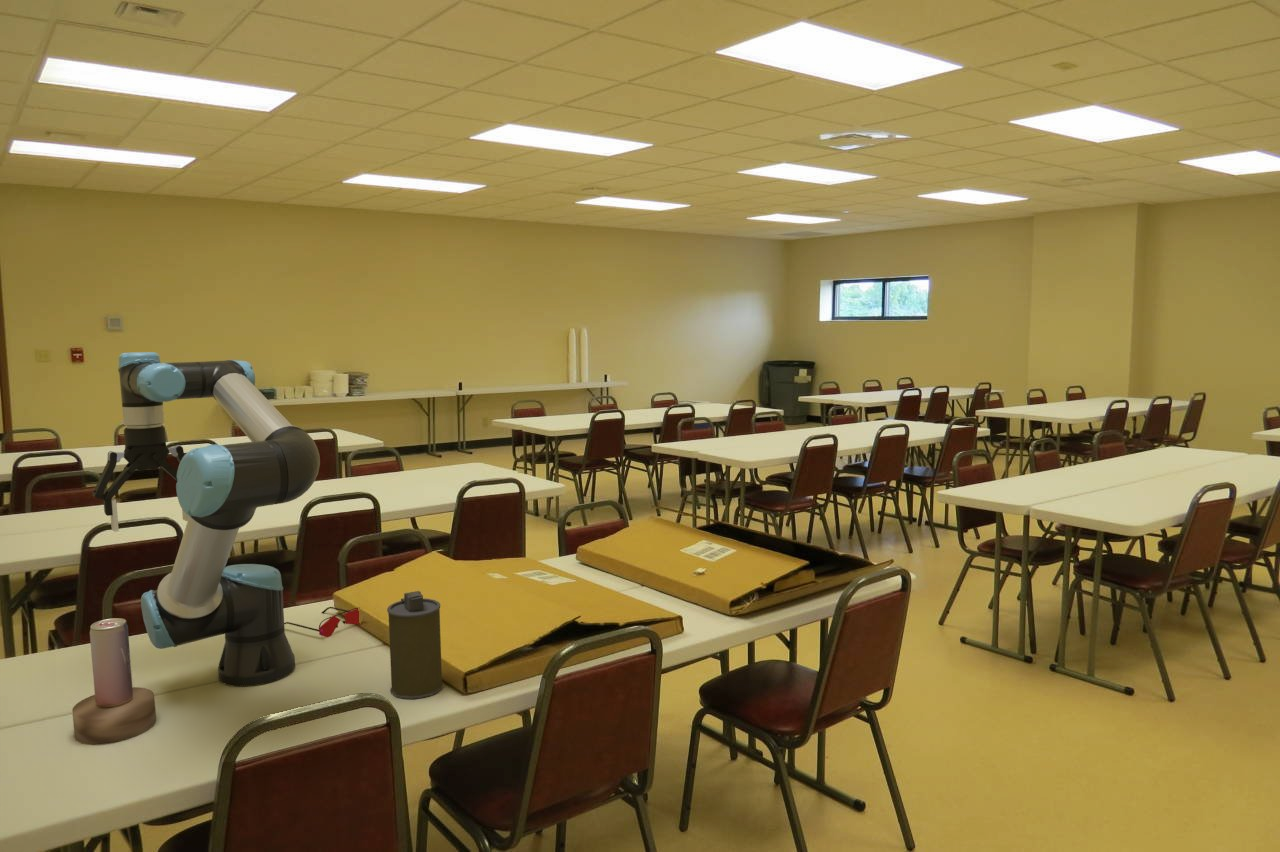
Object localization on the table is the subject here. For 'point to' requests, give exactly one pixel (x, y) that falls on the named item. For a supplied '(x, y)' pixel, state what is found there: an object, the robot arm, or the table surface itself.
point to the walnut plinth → (114, 718)
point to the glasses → (334, 621)
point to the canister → (415, 647)
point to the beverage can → (111, 662)
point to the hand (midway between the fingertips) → (151, 525)
